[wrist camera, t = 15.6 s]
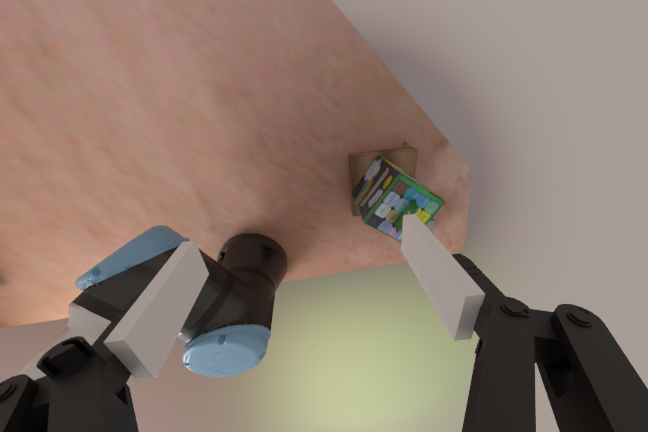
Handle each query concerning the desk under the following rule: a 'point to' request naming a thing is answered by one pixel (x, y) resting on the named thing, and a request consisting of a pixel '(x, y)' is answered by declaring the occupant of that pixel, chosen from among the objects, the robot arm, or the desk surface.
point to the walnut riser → (363, 161)
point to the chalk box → (393, 198)
